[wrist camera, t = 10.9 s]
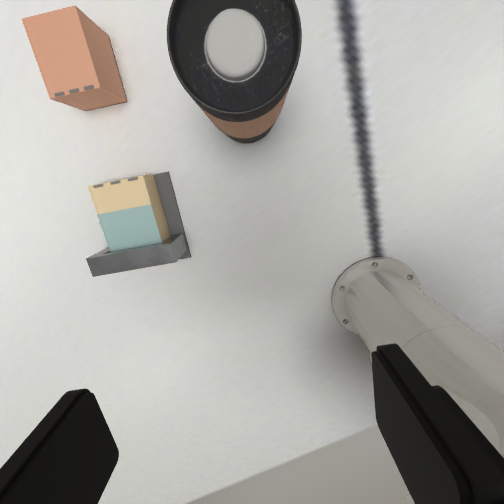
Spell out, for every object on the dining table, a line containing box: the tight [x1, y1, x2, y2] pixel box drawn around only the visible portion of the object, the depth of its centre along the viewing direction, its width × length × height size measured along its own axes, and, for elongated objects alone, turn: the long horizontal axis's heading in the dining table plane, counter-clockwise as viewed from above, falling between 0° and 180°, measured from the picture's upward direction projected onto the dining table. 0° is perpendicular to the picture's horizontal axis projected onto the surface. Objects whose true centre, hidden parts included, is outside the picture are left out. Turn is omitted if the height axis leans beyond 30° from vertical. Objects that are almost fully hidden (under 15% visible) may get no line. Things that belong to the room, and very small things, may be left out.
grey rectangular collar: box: [86, 233, 188, 277], centre depth 36 cm, size 2×11×6 cm, turn 101°
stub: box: [22, 6, 127, 111], centre depth 30 cm, size 7×6×6 cm
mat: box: [154, 172, 191, 259], centre depth 38 cm, size 12×11×1 cm
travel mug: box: [167, 0, 302, 143], centre depth 24 cm, size 8×8×20 cm
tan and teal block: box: [88, 175, 170, 253], centre depth 36 cm, size 11×7×4 cm, turn 11°
